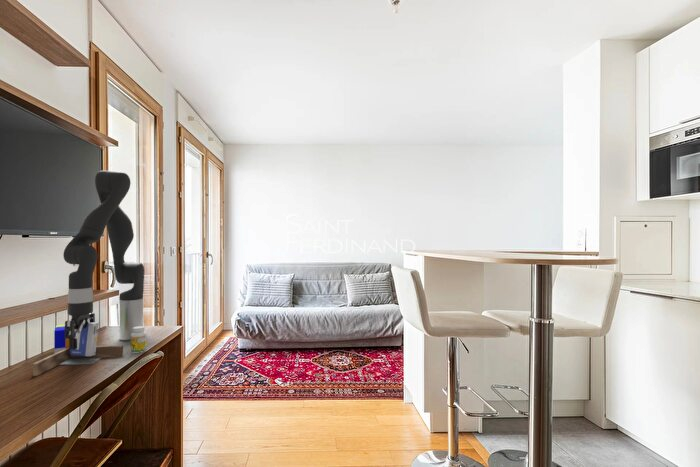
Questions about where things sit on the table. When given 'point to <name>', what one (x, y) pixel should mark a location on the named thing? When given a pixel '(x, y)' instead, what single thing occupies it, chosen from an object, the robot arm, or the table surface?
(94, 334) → the walkman
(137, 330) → the supplement bottle
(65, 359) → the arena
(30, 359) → the table surface
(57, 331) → the puzzle toy
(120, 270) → the robot arm
